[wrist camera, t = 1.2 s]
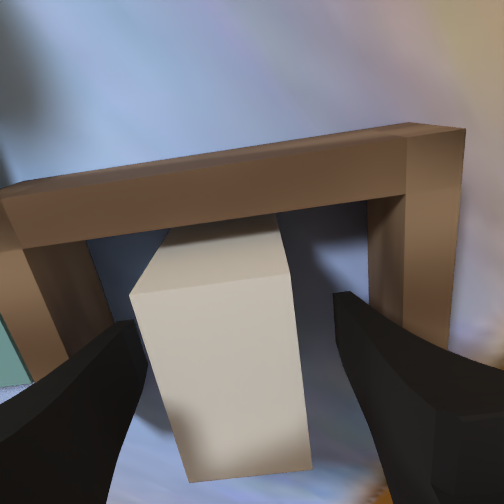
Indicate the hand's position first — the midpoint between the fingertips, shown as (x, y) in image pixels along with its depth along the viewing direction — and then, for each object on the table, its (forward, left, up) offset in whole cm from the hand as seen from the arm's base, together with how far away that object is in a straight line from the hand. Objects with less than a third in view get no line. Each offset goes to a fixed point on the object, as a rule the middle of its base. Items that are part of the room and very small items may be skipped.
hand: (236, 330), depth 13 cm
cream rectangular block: (0, 0, -3) cm, 3 cm away
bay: (0, 0, -2) cm, 2 cm away
